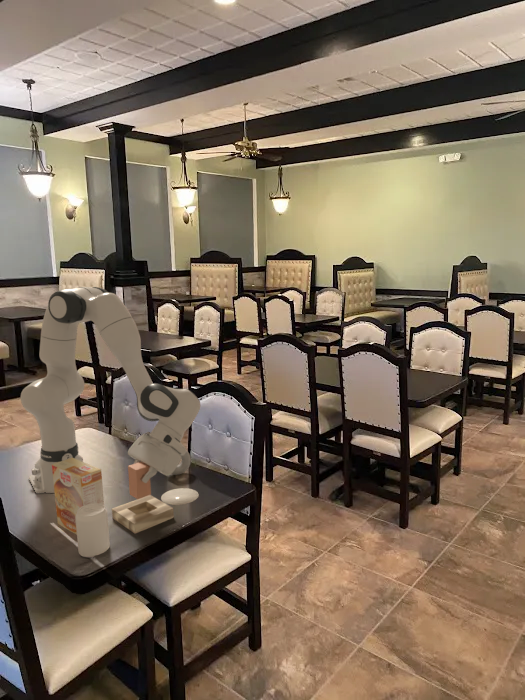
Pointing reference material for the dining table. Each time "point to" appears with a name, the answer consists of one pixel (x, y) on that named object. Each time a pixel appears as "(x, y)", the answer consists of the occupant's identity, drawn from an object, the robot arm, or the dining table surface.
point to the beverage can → (92, 530)
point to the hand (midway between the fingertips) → (137, 478)
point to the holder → (142, 513)
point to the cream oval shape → (179, 496)
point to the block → (138, 480)
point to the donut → (183, 464)
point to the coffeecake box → (75, 489)
